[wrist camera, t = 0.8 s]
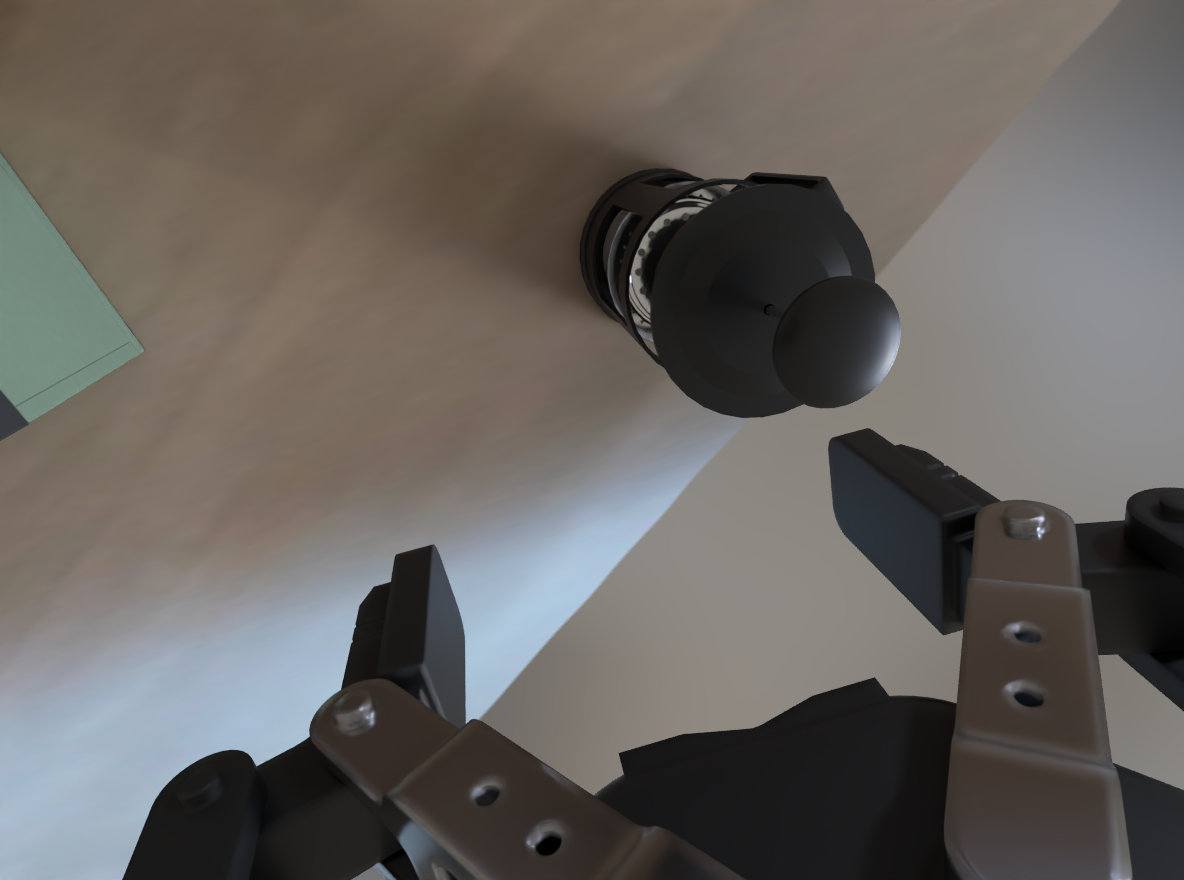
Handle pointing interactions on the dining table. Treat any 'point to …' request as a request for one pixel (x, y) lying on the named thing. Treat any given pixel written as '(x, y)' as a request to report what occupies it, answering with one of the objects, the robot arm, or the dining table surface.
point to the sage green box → (49, 311)
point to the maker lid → (9, 418)
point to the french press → (744, 289)
